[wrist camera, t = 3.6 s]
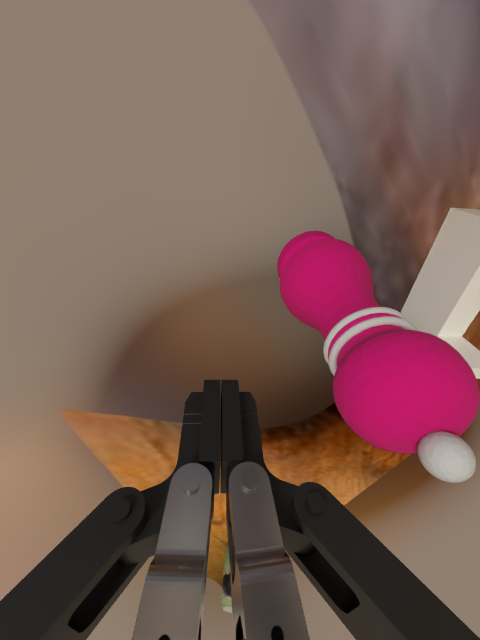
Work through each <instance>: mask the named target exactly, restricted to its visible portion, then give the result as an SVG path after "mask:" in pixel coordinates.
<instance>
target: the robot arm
mask: <svg viewBox="0 0 480 640" xmlns="http://www.w3.org/2000/svg"><path fill="white" fill-rule="evenodd" d="M220 461H221V493H226V526H227V538H228V551H229V564H230V576H231V600H232V617H233V630H234V640H310V639H309V634H308V630H307V626H306V621H305V617H304V612H303V608H302V603H301V599H300V595H299V590H298V586H297V581H296V577H295V573H294V570H293V566H292V563H291V560H290V558H289V556H288V554H289V555H290V556H291V558H292V559H293V560H294V561H295V563H296V564H297V565H298V567H299V568H300V569H301V570H302V572H303V573H304V574H305V575H306V576H307V578H308V579H309V581H310V582H311V583H312V584H313V586H314V587H315V588H316V589H317V591H318V592H319V593H320V594H321V596H322V597H323V598H324V600H325V601H326V602H327V603H328V605H329V606H330V607H331V608H332V610H333V611H334V612H335V613H336V615H337V616H338V617H339V619H340V620H341V621H342V622H343V624H344V625H345V626H346V628H347V629H348V630H349V631H350V633H351V634H352V635H353V636H354V638H355V639H356V640H480V638H479V637H477V636H476V635H475V634H474V633H473V632H472V631H471V630H470V629H469V628H468V627H467V626H466V625H465V624H464V623H463V622H462V621H461V620H460V619H459V618H458V617H457V616H456V615H455V614H454V613H453V612H452V611H451V610H450V609H449V608H448V607H447V606H446V605H445V604H444V603H443V602H442V601H441V600H439V599H438V597H437V596H435V595H434V594H433V593H432V592H431V591H430V590H429V589H428V588H427V587H426V586H425V585H424V584H423V583H422V582H421V581H420V580H419V579H418V578H417V577H416V576H415V575H414V574H413V573H412V572H411V571H410V570H409V569H408V568H407V567H406V566H405V565H404V564H403V563H402V562H401V561H400V560H399V559H398V558H397V557H396V556H395V555H393V554H392V553H391V552H390V551H389V550H388V549H387V548H386V547H385V546H384V545H383V544H382V543H381V542H380V541H379V540H378V539H377V538H376V537H375V536H374V535H373V534H372V533H371V532H370V531H369V530H368V529H367V528H366V527H365V526H364V525H363V524H362V523H361V522H360V521H358V519H356V518H355V516H353V515H352V514H351V513H350V512H349V511H348V510H347V509H346V508H345V507H344V506H343V505H342V504H341V503H340V502H339V501H338V500H337V499H336V498H335V497H334V496H333V495H332V494H331V493H330V492H329V491H328V490H327V489H326V488H324V487H323V486H321V485H320V484H317V483H314V482H306V483H303V484H301V485H300V486H296V485H293V484H290V483H288V482H285V481H282V480H279V479H278V478H276V477H275V476H273V475H272V474H271V473H270V472H269V470H268V469H267V467H266V465H265V463H264V459H263V452H262V445H261V437H260V430H259V424H258V415H257V408H256V402H255V400H254V398H253V397H252V395H251V393H250V392H239V386H238V380H222V385H221V443H220V380H204V390H203V392H191V394H190V396H189V397H188V399H187V400H186V402H185V409H184V417H183V425H182V432H181V440H180V447H179V455H178V461H177V465H176V468H175V470H174V471H173V473H172V474H171V475H170V477H169V478H168V479H166V480H165V481H164V482H162V483H160V484H158V485H156V486H153V487H151V488H148V489H146V490H143V491H139V490H138V489H136V488H133V487H124V488H120V489H118V490H116V491H114V492H112V493H111V494H110V495H109V496H107V497H106V498H105V499H104V500H103V501H102V502H101V503H100V504H99V505H98V506H97V507H96V508H95V509H94V510H93V511H92V512H91V513H90V514H89V515H88V516H87V517H86V518H85V519H84V520H83V521H82V522H81V523H80V524H79V525H78V526H77V527H76V528H75V529H74V530H73V531H72V532H71V533H70V534H69V535H68V536H66V537H65V538H64V539H63V540H62V542H60V544H58V545H57V546H56V547H55V548H54V549H53V550H52V551H51V552H50V553H49V554H48V555H47V556H46V557H45V558H44V559H43V560H42V561H41V562H40V563H39V564H38V565H37V566H36V567H35V568H34V569H33V570H32V571H31V572H30V573H29V574H28V575H27V576H26V577H25V578H24V579H22V580H21V581H20V582H19V584H17V585H16V586H15V587H14V588H13V589H12V590H11V591H10V592H9V593H8V594H7V595H6V596H5V597H4V598H3V599H2V600H1V601H0V640H86V639H87V638H88V636H89V635H90V634H91V632H92V631H93V630H94V629H95V627H96V626H97V625H98V623H99V622H100V621H101V619H102V618H103V617H104V615H105V614H106V613H107V611H108V610H109V609H110V608H111V606H112V605H113V604H114V602H115V601H116V600H117V598H118V597H119V596H120V594H121V593H122V592H123V591H124V589H125V588H126V587H127V585H128V584H129V582H130V581H131V580H132V579H133V577H134V576H135V575H136V574H137V572H138V571H139V569H140V568H141V567H142V566H143V564H144V563H145V562H146V560H147V559H148V558H149V557H151V556H153V555H155V556H154V559H153V561H152V562H151V564H150V566H149V569H148V572H147V575H146V579H145V583H144V587H143V592H142V596H141V601H140V605H139V609H138V614H137V618H136V623H135V627H134V632H133V637H132V640H202V629H203V617H204V605H205V590H206V577H207V566H208V554H209V543H210V531H211V521H212V518H213V512H214V494H217V493H219V481H220ZM284 548H285V549H284ZM285 550H286V551H287V553H288V554H287V553H286V552H285Z"/></svg>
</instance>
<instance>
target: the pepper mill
mask: <svg viewBox="0 0 480 640" xmlns="http://www.w3.org/2000/svg"><path fill="white" fill-rule="evenodd" d="M277 270H278V275H279V278H280V293H281V297H282V299H283V301H284V303H285V305H286V306H287V308H288V309H289V311H290V312H291V313H292V314H293V315H294V316H295V317H296V318H298V319H299V320H300V321H301V322H303V323H305V324H306V325H308V326H310V327H312V328H315V329H317V330H319V331H320V332H321V333H322V335H323V337H324V338H325V344H324V357H325V360H326V362H327V363H328V364H329V367H330V370H331V372H332V374H333V375H334V379H333V394H334V400H335V403H336V406H337V408H338V411H339V412H340V414H341V416H342V418H343V419H344V421H345V422H346V423H347V424H348V426H349V427H350V428H351V429H352V430H353V431H354V432H355V433H356V434H357V435H358V436H359V437H361V438H362V439H363V440H365V441H366V442H368V443H369V444H371V445H373V446H375V447H378V448H380V449H382V450H385V451H390V452H395V453H406V454H410V453H418V456H419V459H420V461H421V463H422V464H423V466H424V467H425V469H426V470H428V471H429V472H430V473H431V474H432V475H434V476H435V477H437V478H439V479H440V480H443V481H447V482H452V483H459V482H463V481H465V480H467V479H468V478H470V477H471V476H472V475H473V473H474V472H475V468H476V459H475V455H474V453H473V451H472V449H471V448H470V447H469V445H468V444H467V443H465V442H464V441H463V440H462V439H461V438H460V437H459V436H460V435H461V434H462V433H463V432H464V431H465V430H466V429H467V428H468V427H469V426H470V424H471V423H472V421H473V420H474V418H475V416H476V413H477V411H478V407H479V397H480V392H479V388H478V383H477V379H476V377H475V375H474V372H473V370H472V369H471V367H470V366H469V364H468V363H467V361H466V360H465V359H464V358H463V357H462V355H461V354H460V353H459V352H458V351H457V350H456V349H455V348H453V347H452V346H451V345H450V344H448V343H447V342H446V341H444V340H442V339H440V338H438V337H437V336H434V335H432V334H430V333H425V332H421V331H417V329H416V327H415V326H414V325H413V324H412V323H410V322H409V321H407V319H406V318H405V317H404V316H403V315H402V314H401V313H400V312H398V311H396V310H394V309H391V308H386V307H380V306H379V304H378V303H377V302H376V301H375V298H374V292H373V278H372V275H371V271H370V268H369V266H368V264H367V261H366V259H365V258H364V257H363V256H362V254H361V253H360V252H359V251H358V250H357V249H356V248H355V247H354V246H352V245H351V244H349V243H347V242H344V241H342V240H338V239H335V238H334V237H332V236H331V235H329V234H327V233H324V232H320V231H309V232H305V233H302V234H300V235H298V236H296V237H294V238H293V239H291V241H289V242H288V243H287V244H286V245H285V247H284V248H283V250H282V252H281V254H280V256H279V258H278V264H277Z"/></svg>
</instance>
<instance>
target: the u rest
mask: <svg viewBox="0 0 480 640" xmlns="http://www.w3.org/2000/svg"><path fill="white" fill-rule="evenodd" d="M479 310H480V210H478V209H466V208H450V210H449V212H448V214H447V216H446V218H445V220H444V222H443V224H442V227H441V229H440V231H439V233H438V235H437V237H436V239H435V241H434V243H433V245H432V248H431V250H430V252H429V254H428V256H427V258H426V260H425V262H424V264H423V266H422V269H421V271H420V273H419V275H418V277H417V279H416V281H415V283H414V285H413V287H412V290H411V292H410V294H409V296H408V298H407V300H406V302H405V304H404V306H403V308H402V311H401V314H402V315H403V316H404V317H405V318H406V319H407V321H409V322H410V323H412V324H413V325H414V326H415V327H416V329H417V331H421V332H425V333H430V334H432V335H434V336H437V337H438V338H440V339H442V340H444V341H446V342H447V343H448V344H450V345H451V346H452V347H453V348H455V349H456V350H457V351H458V352H459V353H460V354H461V355H462V357H463V358H464V359H465V360H466V361H467V363H468V364H469V366H470V367H471V369H472V370H473V372H474V375H475V377H476V378H480V351H479V350H478V349H477V348H475V347H474V346H473V345H472V344H470V343H469V342H468V341H467V340H466V339H464V338H463V337H462V336H463V334H464V333H465V331H466V330H467V328H468V327H469V325H470V324H471V322H472V321H473V319H474V318H475V316H476V315H477V313H478V312H479Z"/></svg>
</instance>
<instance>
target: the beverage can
mask: <svg viewBox="0 0 480 640" xmlns="http://www.w3.org/2000/svg"><path fill="white" fill-rule="evenodd" d="M221 603H222V610H224V611H226V612H230V613H232V600H231V576H230V564H229V551H228V546H227V547H226V555H225V564H224V573H223V582H222V592H221Z"/></svg>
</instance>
